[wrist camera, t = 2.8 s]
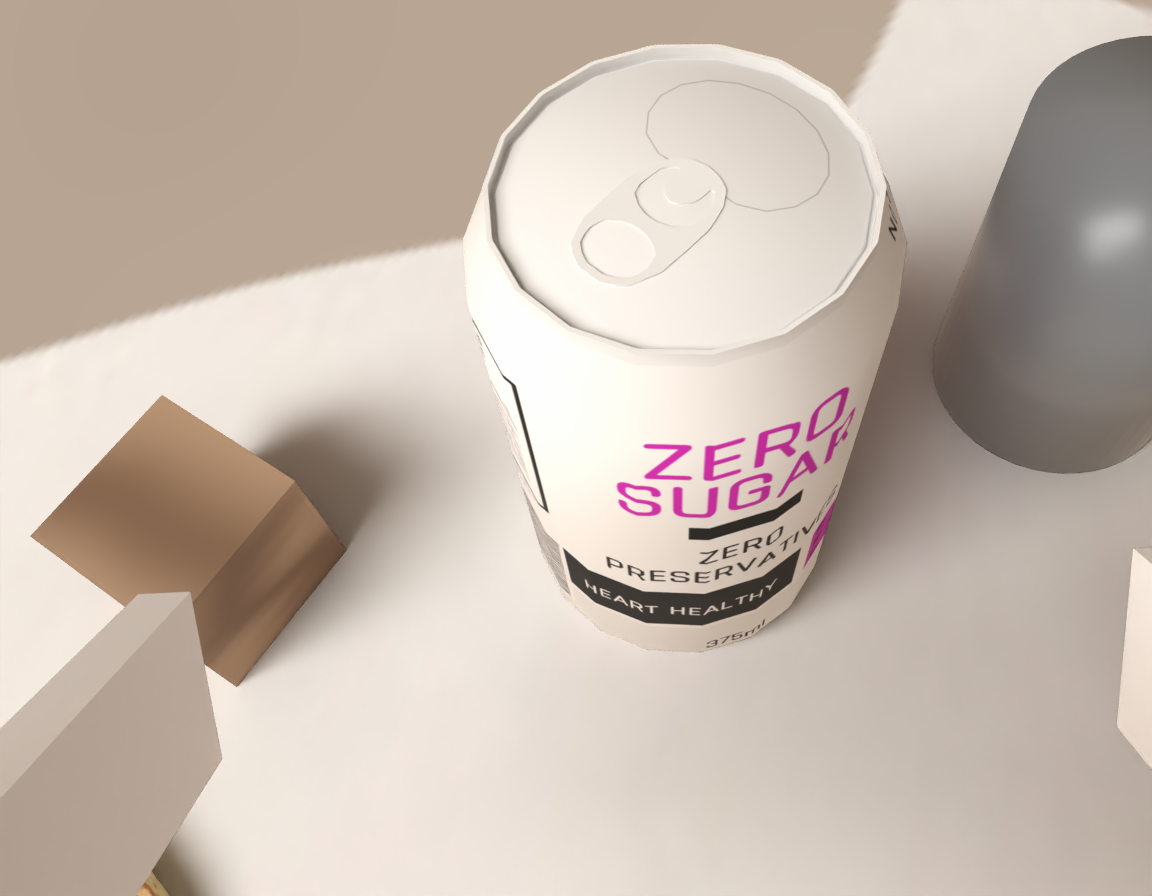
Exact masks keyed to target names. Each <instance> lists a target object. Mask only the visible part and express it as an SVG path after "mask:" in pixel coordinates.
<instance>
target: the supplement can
mask: <svg viewBox="0 0 1152 896" xmlns="http://www.w3.org/2000/svg"><path fill="white" fill-rule="evenodd" d="M906 247H907V241H906V237H905V234H904V231H903V228H902V225H901V221H900V218H899V215H898V212H897V209H896V205H895V202H894V199H893V196H892V193H891V189H890V186H889V183H888V181H887V179H886V178H885V176H884V174H883V172H882V169H881V166H880V163H879V160H878V157H877V153H876V150H875V147H874V144H873V141H872V137H871V134H870V132H869V131H868V130H867V129H866V128H865V127H864V125H863V124H862V123H861V122H860V121H859V120H858V118H857V117H856V116H855V115H854V114H853V113H852V111H851V110H850V109H849V108H848V107H847V106H846V105H845V103H844V102H843V101H842V100H841V99H840V98H839V96H838V95H837V94H836V93H835V92H834V91H833V90H832V89H830V88H829V87H827V86H825V85H824V84H822V83H820V82H819V81H817V80H815V79H813V78H812V77H810V76H808V75H806V74H805V73H803V72H801V71H799V70H798V69H796V68H794V67H792V66H791V65H789V64H787V63H786V62H784V61H782V60H780V59H777V58H773V57H768V56H765V55H760V54H757V53H752V52H748V51H744V50H740V49H736V48H732V47H728V46H724V45H720V44H687V45H651V46H648V47H644V48H640V49H637V50H633V51H629V52H626V53H622V54H619V55H614V56H611V57H607V58H603V59H600V60H596V61H592V62H590V63H589V64H587V65H585V66H583V67H582V68H580V69H578V70H577V71H575V72H573V73H572V74H570V75H568V76H567V77H565V78H563V79H561V80H560V81H558V82H556V83H555V84H553V85H551V86H549V87H548V88H546V89H544V90H543V91H541V92H540V93H538V95H537V96H536V97H535V98H534V99H533V100H532V101H531V102H530V104H529V105H528V106H527V107H526V108H525V109H524V110H523V111H522V112H521V114H520V115H519V116H518V117H517V118H516V119H515V120H514V122H513V123H512V124H511V125H510V126H509V127H508V128H507V129H506V130H505V132H504V133H503V134H502V135H501V137H500V140H499V143H498V146H497V148H496V151H495V154H494V156H493V159H492V162H491V164H490V167H489V170H488V173H487V175H486V178H485V181H484V183H483V188H482V190H481V193H480V195H479V198H478V201H477V204H476V206H475V209H474V212H473V215H472V217H471V220H470V223H469V226H468V228H467V231H466V233H465V236H464V239H463V248H464V263H465V278H466V294H467V303H468V306H469V310H470V313H471V316H472V320H473V323H474V326H475V330H476V333H477V337H478V340H479V343H480V347H481V350H482V353H483V357H484V360H485V363H486V367H487V370H488V373H489V377H490V380H491V383H492V387H493V390H494V393H495V397H496V400H497V403H498V407H499V410H500V414H501V417H502V420H503V424H504V427H505V430H506V434H507V437H508V440H509V444H510V447H511V450H512V454H513V457H514V460H515V464H516V467H517V470H518V474H519V477H520V480H521V484H522V487H523V491H524V494H525V497H526V501H527V504H528V507H529V511H530V514H531V517H532V521H533V524H534V527H535V531H536V534H537V537H538V541H539V544H540V547H541V551H542V554H543V557H544V559H545V561H546V563H547V565H548V567H549V569H550V571H551V573H552V575H553V577H554V579H555V581H556V583H557V584H558V586H559V588H560V590H561V592H562V594H563V596H564V598H565V599H566V600H567V601H568V602H569V603H571V604H572V605H573V606H574V607H575V608H576V609H577V610H578V611H579V612H581V613H582V614H583V615H584V616H585V617H586V618H587V619H588V620H589V621H590V622H592V623H593V624H594V625H595V626H596V627H597V628H598V629H599V630H600V631H603V632H605V633H607V634H610V635H612V636H615V637H617V638H620V639H622V640H625V641H627V642H630V643H632V644H635V645H637V646H639V647H642V648H644V649H647V650H658V651H680V652H704V651H707V650H710V649H713V648H717V647H720V646H723V645H727V644H730V643H733V642H736V641H740V640H743V639H746V638H750V637H751V636H752V635H754V634H755V633H756V632H758V631H759V630H760V629H762V628H763V627H764V626H766V625H767V624H768V623H769V622H771V621H772V620H773V619H775V618H776V617H777V616H779V615H780V614H781V613H783V612H784V611H785V610H787V609H788V608H789V607H790V606H791V604H792V602H793V601H794V599H795V598H796V596H797V594H798V593H799V591H800V589H801V588H802V586H803V584H804V583H805V581H806V579H807V578H808V576H809V575H810V573H811V571H812V570H813V568H814V566H815V563H816V560H817V557H818V554H819V551H820V548H821V545H822V542H823V538H824V535H825V532H826V529H827V526H828V523H829V520H830V517H831V514H832V510H833V507H834V504H835V501H836V498H837V495H838V492H839V489H840V486H841V483H842V479H843V476H844V473H845V470H846V467H847V464H848V461H849V458H850V455H851V452H852V448H853V445H854V442H855V439H856V436H857V433H858V430H859V427H860V424H861V421H862V417H863V414H864V411H865V408H866V405H867V402H868V399H869V396H870V393H871V389H872V386H873V383H874V380H875V377H876V374H877V371H878V368H879V365H880V362H881V358H882V355H883V352H884V349H885V346H886V343H887V340H888V337H889V334H890V331H891V327H892V324H893V321H894V318H895V315H896V312H897V309H898V305H899V298H900V290H901V283H902V276H903V269H904V262H905V255H906Z"/></svg>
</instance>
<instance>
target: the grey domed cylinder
mask: <svg viewBox="0 0 1152 896" xmlns="http://www.w3.org/2000/svg"><path fill="white" fill-rule="evenodd" d="M932 360H933V375H934V381H935V385H936V388H937V391H938V394H939V397H940V399H941V401H942V403H943V405H944V407H945V408H946V410H947V411H948V413H949V414H950V416H951V417H952V419H953V420H954V421H955V422H956V424H957V425H958V426H959V427H960V428H961V429H962V430H963V431H964V432H965V433H966V434H967V435H968V436H969V437H970V438H971V439H972V440H974V441H975V442H976V443H978V444H979V445H980V446H982V447H983V448H985V449H986V450H988V451H989V452H991V453H993V454H995V455H996V456H998V457H1000V458H1002V459H1005V460H1007V461H1009V462H1012V463H1014V464H1017V465H1020V466H1023V467H1026V468H1029V469H1034V470H1039V471H1044V472H1051V473H1063V474H1065V473H1083V472H1090V471H1096V470H1100V469H1103V468H1107V467H1110V466H1112V465H1115V464H1117V463H1119V462H1122V461H1124V460H1125V459H1127V458H1129V457H1130V456H1132V455H1134V454H1135V453H1136V452H1137V451H1139V450H1140V449H1141V448H1142V447H1144V446H1145V445H1146V444H1147V442H1148V441H1149V440H1150V439H1151V438H1152V36H1139V37H1132V38H1125V39H1119V40H1115V41H1111V42H1107V43H1104V44H1100V45H1098V46H1095V47H1092V48H1090V49H1087V50H1085V51H1083V52H1081V53H1079V54H1077V55H1075V56H1073V57H1071V58H1070V59H1068V60H1067V61H1065V62H1064V63H1062V64H1061V65H1060V66H1058V67H1057V68H1056V69H1055V70H1054V71H1053V72H1052V73H1050V74H1049V75H1048V76H1047V77H1046V78H1045V80H1044V81H1043V82H1042V84H1041V85H1040V86H1039V87H1038V89H1037V90H1036V92H1035V94H1034V96H1033V98H1032V100H1031V102H1030V104H1029V107H1028V109H1027V112H1026V114H1025V117H1024V119H1023V122H1022V124H1021V127H1020V129H1019V132H1018V134H1017V137H1016V140H1015V142H1014V145H1013V147H1012V150H1011V152H1010V155H1009V157H1008V160H1007V162H1006V165H1005V167H1004V170H1003V172H1002V175H1001V177H1000V180H999V182H998V185H997V187H996V190H995V192H994V195H993V197H992V200H991V202H990V205H989V207H988V210H987V213H986V215H985V218H984V220H983V223H982V225H981V228H980V230H979V233H978V235H977V238H976V240H975V243H974V245H973V248H972V250H971V253H970V255H969V258H968V260H967V263H966V265H965V268H964V270H963V273H962V275H961V278H960V281H959V283H958V286H957V288H956V291H955V293H954V296H953V298H952V301H951V303H950V306H949V308H948V311H947V313H946V316H945V318H944V321H943V323H942V326H941V328H940V331H939V333H938V336H937V339H936V342H935V345H934V351H933V358H932Z"/></svg>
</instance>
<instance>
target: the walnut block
mask: <svg viewBox="0 0 1152 896" xmlns="http://www.w3.org/2000/svg"><path fill="white" fill-rule="evenodd" d="M31 537H32V538H33V539H35V540H36V541H37V542H39V543H40V544H41V545H43V546H44V547H45V548H47V549H48V550H49V551H51V552H52V553H53V554H55V555H56V556H57V557H59V558H60V559H61V560H63V561H64V562H66V563H67V564H68V565H70V566H71V567H72V568H74V569H75V570H76V571H78V572H79V573H80V574H82V575H83V576H84V577H86V578H87V579H88V580H90V581H91V582H92V583H94V584H95V585H96V586H98V587H99V588H100V589H102V590H103V591H104V592H106V593H107V594H108V595H110V596H111V597H112V598H114V599H115V600H117V601H118V602H119V603H121V604H122V605H123V606H125V607H126V606H127V605H128V604H129V603H130V602H131V601H132V600H133V599H134V598H135V597H136V596H137V595H138V594H152V593H174V592H190V593H191V598H192V603H193V609H194V614H195V619H196V624H197V629H198V635H199V640H200V645H201V650H202V655H203V661H204V664H205V665H206V666H208V667H209V668H211V669H212V670H213V671H215V672H216V673H218V674H219V675H221V676H222V677H223V678H225V679H226V680H228V681H229V682H231V683H232V684H233V685H235V686H236V687H237V686H238V685H239V684H240V682H241V681H242V680H243V679H244V677H245V676H246V675H247V674H248V672H249V671H250V670H251V669H252V667H253V666H254V665H255V664H256V662H257V661H258V660H259V659H260V657H261V656H262V655H263V654H264V652H265V651H266V650H267V649H268V647H269V646H270V645H271V644H272V642H273V641H274V640H275V639H276V637H277V636H278V635H279V634H280V632H281V631H282V630H283V629H284V627H285V626H286V625H287V624H288V622H289V621H290V620H291V619H292V617H293V616H294V615H295V614H296V612H297V611H298V610H299V609H300V607H301V606H302V605H303V604H304V602H305V601H306V600H307V599H308V597H309V596H310V595H311V594H312V592H313V591H314V590H315V589H316V587H317V586H318V585H319V584H320V582H321V581H322V580H323V579H324V577H325V576H326V575H327V574H328V572H329V571H330V570H331V569H332V567H333V566H334V565H335V564H336V562H337V561H338V560H339V559H340V557H341V556H342V555H343V554H344V552H345V551H346V549H345V547H344V546H343V545H342V543H341V542H340V541H339V539H338V538H337V537H336V535H335V534H334V533H333V531H332V530H331V529H330V527H329V526H328V524H327V523H326V522H325V520H324V519H323V518H322V516H321V515H320V514H319V512H318V511H317V510H316V508H315V507H314V506H313V504H312V503H311V501H310V500H309V499H308V497H307V496H306V495H305V493H304V492H303V491H302V489H301V488H300V487H299V485H298V484H297V483H296V481H295V480H293V479H292V478H290V477H289V476H287V475H285V474H284V473H282V472H281V471H279V470H278V469H276V468H275V467H273V466H271V465H270V464H268V463H267V462H265V461H264V460H262V459H261V458H259V457H257V456H256V455H254V454H253V453H251V452H250V451H248V450H247V449H245V448H243V447H242V446H240V445H239V444H237V443H236V442H234V441H233V440H231V439H229V438H228V437H226V436H225V435H223V434H222V433H220V432H219V431H217V430H215V429H214V428H212V427H211V426H209V425H208V424H206V423H205V422H203V421H201V420H200V419H198V418H197V417H195V416H194V415H192V414H191V413H189V412H187V411H186V410H184V409H183V408H181V407H180V406H178V405H177V404H175V403H174V402H172V401H170V400H169V399H167V398H166V397H164V396H163V395H162V396H161V397H160V398H159V399H158V400H157V401H156V402H155V403H154V404H153V405H152V406H151V407H150V408H149V409H148V411H147V412H146V413H145V414H144V415H143V416H142V417H141V418H140V419H139V420H138V421H137V422H136V423H135V425H134V426H133V427H132V428H131V429H130V430H129V431H128V432H127V433H126V434H125V435H124V436H123V437H122V438H121V440H120V441H119V442H118V443H117V444H116V445H115V446H114V447H113V448H112V449H111V450H110V451H109V452H108V453H107V455H106V456H105V457H104V458H103V459H102V460H101V461H100V462H99V463H98V464H97V465H96V466H95V467H94V468H93V470H92V471H91V472H90V473H89V474H88V475H87V476H86V477H85V478H84V479H83V480H82V481H81V482H80V484H79V485H78V486H77V487H76V488H75V489H74V490H73V491H72V492H71V493H70V494H69V495H68V496H67V497H66V499H65V500H64V501H63V502H62V503H61V504H60V505H59V506H58V507H57V508H56V509H55V510H54V511H53V512H52V514H51V515H50V516H49V517H48V518H47V519H46V520H45V521H44V522H43V523H42V524H41V525H40V526H39V527H38V529H37V530H36V531H35V532H34V533H33V534H32V535H31Z"/></svg>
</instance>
